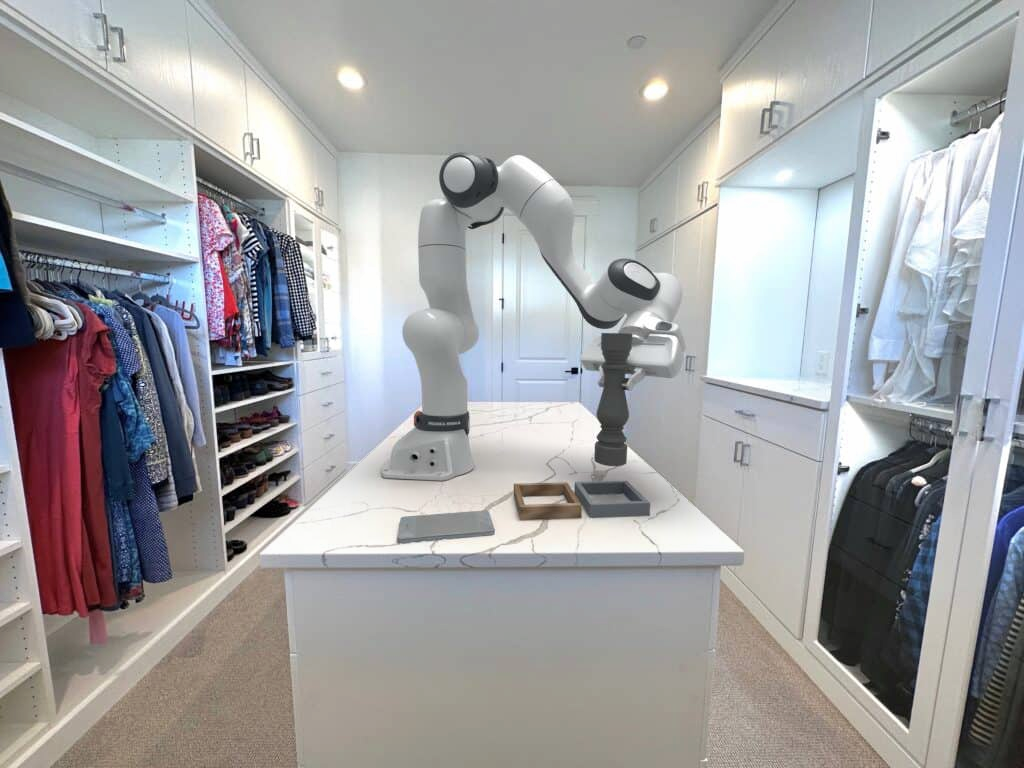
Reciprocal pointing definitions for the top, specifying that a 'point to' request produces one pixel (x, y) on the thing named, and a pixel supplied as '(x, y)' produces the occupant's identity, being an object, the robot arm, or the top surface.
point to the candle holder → (613, 400)
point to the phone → (445, 526)
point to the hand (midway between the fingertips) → (613, 386)
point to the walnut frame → (546, 510)
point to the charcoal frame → (611, 509)
